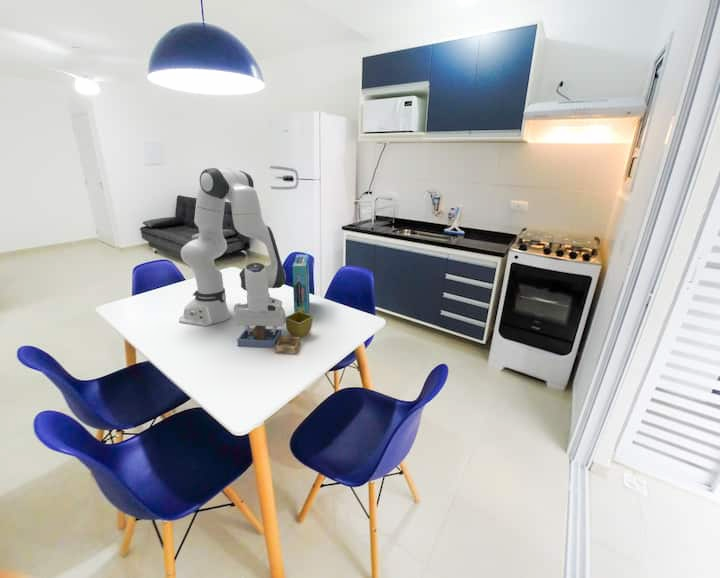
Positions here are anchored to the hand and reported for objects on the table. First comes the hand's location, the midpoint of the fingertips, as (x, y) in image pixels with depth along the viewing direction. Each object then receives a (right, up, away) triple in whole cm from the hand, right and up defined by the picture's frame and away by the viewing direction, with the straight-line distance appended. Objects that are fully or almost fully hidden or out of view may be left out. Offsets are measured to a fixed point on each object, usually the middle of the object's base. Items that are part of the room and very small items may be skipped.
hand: (262, 334), depth 137 cm
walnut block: (-1, -3, +1) cm, 3 cm away
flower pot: (+14, -2, +7) cm, 16 cm away
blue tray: (-1, -3, +1) cm, 4 cm away
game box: (+11, +8, +32) cm, 34 cm away
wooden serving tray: (+12, -6, -4) cm, 14 cm away
